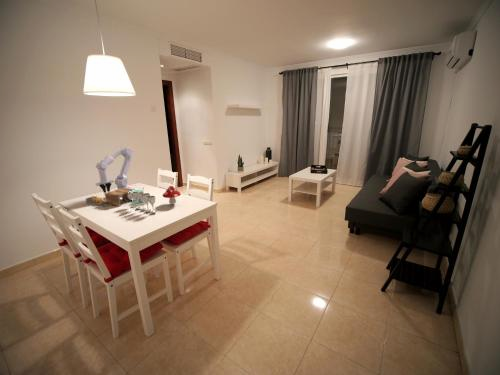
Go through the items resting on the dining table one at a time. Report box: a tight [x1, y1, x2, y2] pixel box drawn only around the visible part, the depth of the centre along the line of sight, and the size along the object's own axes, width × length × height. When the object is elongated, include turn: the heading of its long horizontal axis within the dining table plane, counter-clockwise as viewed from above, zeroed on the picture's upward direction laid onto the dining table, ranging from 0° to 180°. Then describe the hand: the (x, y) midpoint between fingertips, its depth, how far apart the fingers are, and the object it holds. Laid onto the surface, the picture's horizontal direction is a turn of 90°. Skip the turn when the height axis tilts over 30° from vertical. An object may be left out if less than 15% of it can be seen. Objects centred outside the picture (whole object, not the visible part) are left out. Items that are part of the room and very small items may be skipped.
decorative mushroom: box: [162, 185, 182, 205], centre depth 182 cm, size 14×14×15 cm
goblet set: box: [128, 191, 157, 214], centre depth 170 cm, size 28×6×13 cm, turn 62°
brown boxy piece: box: [103, 188, 136, 207], centre depth 187 cm, size 17×14×10 cm
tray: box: [85, 195, 107, 207], centre depth 187 cm, size 6×18×6 cm, turn 68°
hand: (106, 192), depth 192 cm, fingers open, 3 cm apart
